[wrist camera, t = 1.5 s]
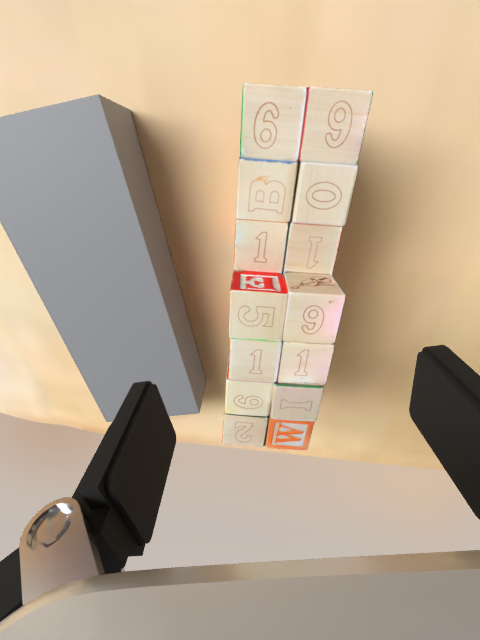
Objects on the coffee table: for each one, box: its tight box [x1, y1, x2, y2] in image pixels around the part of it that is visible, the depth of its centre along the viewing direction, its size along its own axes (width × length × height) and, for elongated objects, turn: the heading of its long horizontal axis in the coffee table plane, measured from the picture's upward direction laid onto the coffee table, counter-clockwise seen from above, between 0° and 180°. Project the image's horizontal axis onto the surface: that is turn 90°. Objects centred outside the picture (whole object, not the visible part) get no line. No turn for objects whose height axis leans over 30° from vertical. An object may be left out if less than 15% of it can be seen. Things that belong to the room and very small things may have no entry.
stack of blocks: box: [222, 83, 373, 450], centre depth 21 cm, size 21×6×12 cm, turn 176°
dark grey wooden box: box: [0, 94, 206, 422], centre depth 26 cm, size 10×26×5 cm, turn 10°
